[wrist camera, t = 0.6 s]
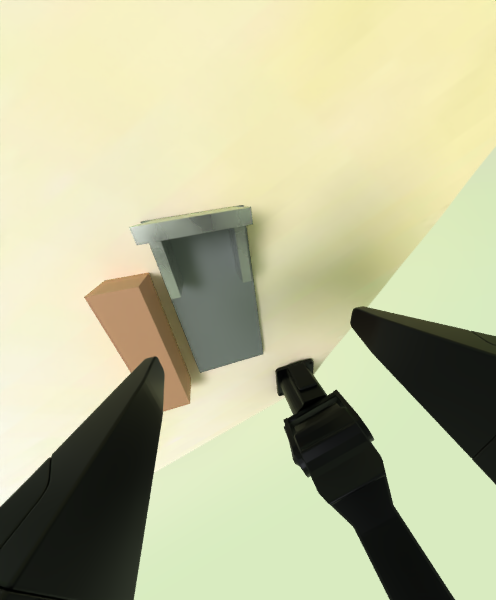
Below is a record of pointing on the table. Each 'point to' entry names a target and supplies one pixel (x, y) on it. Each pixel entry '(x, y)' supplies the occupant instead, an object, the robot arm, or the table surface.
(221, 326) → the board
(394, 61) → the table surface
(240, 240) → the bracket
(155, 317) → the rail
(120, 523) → the robot arm
